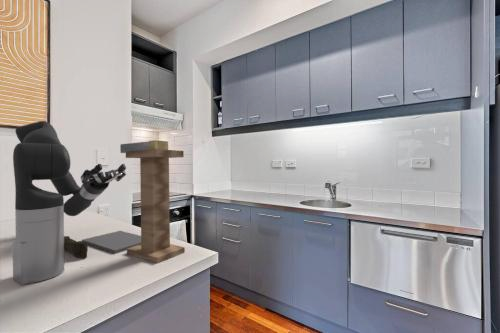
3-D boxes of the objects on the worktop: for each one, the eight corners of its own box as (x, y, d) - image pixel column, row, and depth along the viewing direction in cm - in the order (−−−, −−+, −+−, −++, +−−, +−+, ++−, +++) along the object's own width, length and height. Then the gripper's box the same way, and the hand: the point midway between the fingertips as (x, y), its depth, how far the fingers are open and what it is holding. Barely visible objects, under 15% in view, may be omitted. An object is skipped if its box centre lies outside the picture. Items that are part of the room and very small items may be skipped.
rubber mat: (115, 253, 76) (115, 250, 76) (81, 242, 88) (81, 239, 88) (153, 241, 88) (153, 238, 88) (119, 233, 99) (119, 230, 99)
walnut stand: (157, 263, 68) (156, 149, 68) (126, 253, 76) (125, 151, 76) (184, 252, 76) (183, 150, 76) (154, 244, 84) (153, 152, 84)
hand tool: (55, 249, 82) (55, 235, 81) (70, 245, 85) (69, 232, 85) (75, 262, 70) (74, 246, 70) (90, 258, 73) (90, 243, 73)
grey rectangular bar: (155, 150, 72) (155, 140, 72) (117, 152, 83) (117, 144, 83) (168, 151, 76) (168, 141, 76) (131, 153, 87) (131, 145, 87)
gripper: (71, 179, 91) (89, 156, 84) (109, 177, 103) (128, 157, 96) (75, 197, 89) (94, 175, 82) (114, 193, 101) (134, 174, 94)
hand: (113, 165), depth 89 cm, fingers open, 8 cm apart
